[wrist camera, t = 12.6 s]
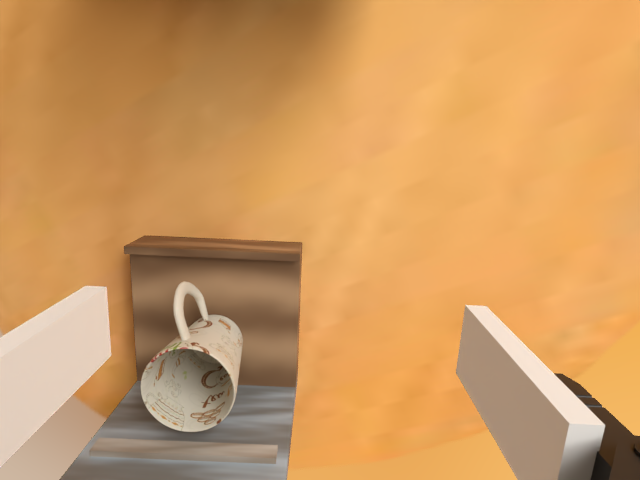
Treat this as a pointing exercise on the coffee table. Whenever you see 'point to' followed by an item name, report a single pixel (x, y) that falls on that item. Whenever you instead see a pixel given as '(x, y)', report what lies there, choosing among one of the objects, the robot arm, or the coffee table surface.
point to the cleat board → (254, 375)
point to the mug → (194, 369)
